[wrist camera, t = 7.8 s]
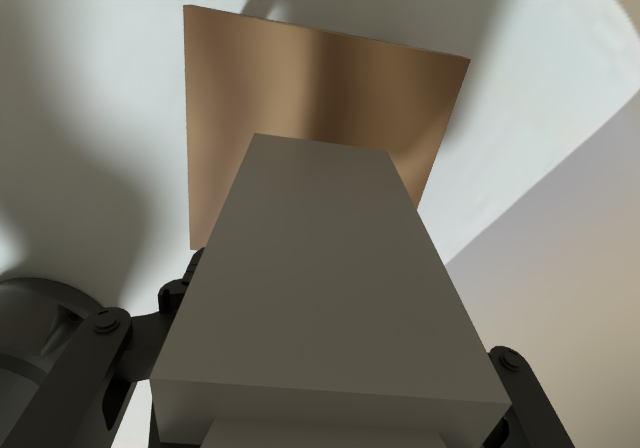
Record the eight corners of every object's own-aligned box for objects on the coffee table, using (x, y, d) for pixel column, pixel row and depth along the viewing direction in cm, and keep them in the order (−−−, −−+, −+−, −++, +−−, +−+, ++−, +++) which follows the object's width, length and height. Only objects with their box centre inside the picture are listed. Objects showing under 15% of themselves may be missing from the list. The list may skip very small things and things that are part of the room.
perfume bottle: (360, 255, 22) (471, 846, 7) (248, 243, 21) (88, 867, 6) (387, 150, 18) (759, 904, 3) (254, 132, 18) (-104, 967, 2)
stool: (218, 189, 36) (190, 249, 27) (222, 3, 27) (183, 5, 19) (374, 211, 37) (393, 273, 29) (423, 41, 29) (470, 59, 20)
